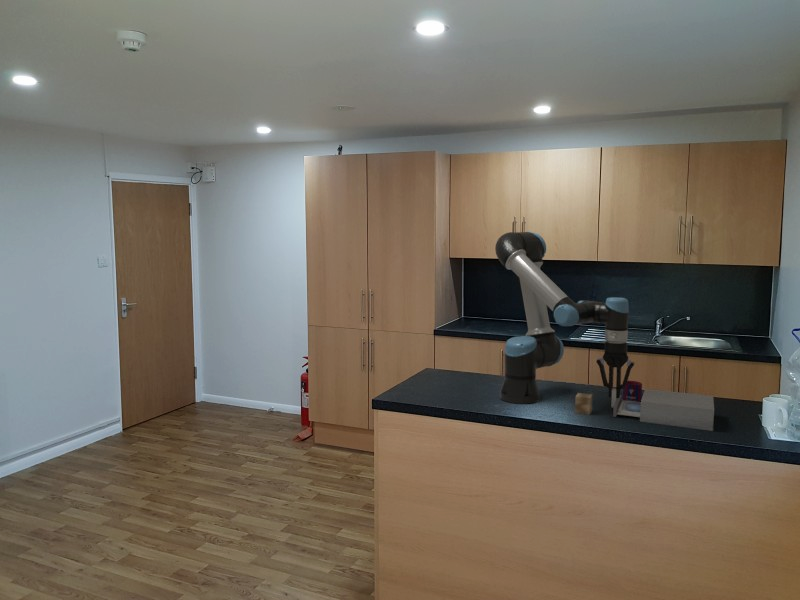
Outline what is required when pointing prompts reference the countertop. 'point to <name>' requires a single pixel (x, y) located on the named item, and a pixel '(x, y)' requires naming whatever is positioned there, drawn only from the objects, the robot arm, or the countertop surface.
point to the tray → (623, 408)
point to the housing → (677, 409)
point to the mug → (632, 391)
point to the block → (583, 403)
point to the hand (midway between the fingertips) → (613, 406)
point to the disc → (633, 406)
